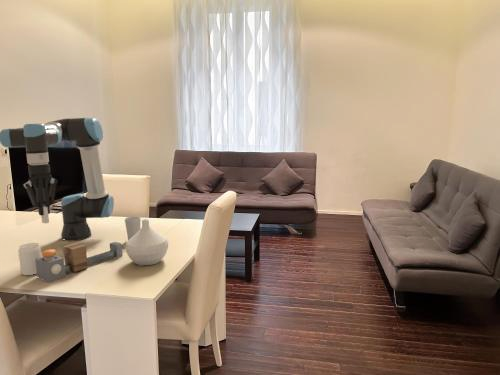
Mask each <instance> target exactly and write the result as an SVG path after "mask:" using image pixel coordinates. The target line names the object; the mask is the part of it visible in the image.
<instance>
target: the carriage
mask: <svg viewBox="0 0 500 375" xmlns="http://www.w3.org/2000/svg"><path fill="white" fill-rule="evenodd" d="M86 246H87V245H85V244H82V243H79V242H73V243H71V244H68V245H64V246H62V248H63V254H64V256H63V258H64V265H66V264H71V265H72V271H73V272H74V273H76V272H79V271H82V270H86V269H88V268H89V266H88V264H87V258H88V256H87V247H86Z"/></svg>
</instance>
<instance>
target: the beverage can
mask: <svg viewBox="0 0 500 375" xmlns="http://www.w3.org/2000/svg"><path fill="white" fill-rule="evenodd" d="M41 257H42V250H41V245H40V244H39V243H37V242H30V243H23V244H21V245H19V248H18V259H19V267H20V274H21V275H22V274H23V275H22V276H26V275H31V276H34V275H33V274H36V275H37V270H36V261H35V259H37V258H41Z"/></svg>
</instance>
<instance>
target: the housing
mask: <svg viewBox="0 0 500 375" xmlns="http://www.w3.org/2000/svg"><path fill="white" fill-rule="evenodd" d="M35 261H36V270H37V274H36V276H37V277H39V278H41V279H43V280H42V281H44V280H45V281H44V282H46V281H47V282H46V283H48V282H49V283H51V281H52V282H55V281H58V280H60V279H63V278H66V274H65V267H64V265H65V259H64V257H61V256H59V255H57V254H56V255H54V259H53V260H50V261H47V262H46V261H45V260H44V257H42V256H41V258H37V259H35ZM39 278H38V279H39ZM41 279H40V280H41Z"/></svg>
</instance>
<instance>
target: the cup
mask: <svg viewBox="0 0 500 375" xmlns="http://www.w3.org/2000/svg"><path fill="white" fill-rule="evenodd" d="M141 220H142V219H141V216H128V217H125V218H124V223H125V228H126V234H127V235H126V237H127V241H128V240H129V239H130V238H132V237H133V236H134V235H135V234H136V233H137V232H138V231H139V230H140V229H141Z"/></svg>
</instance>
